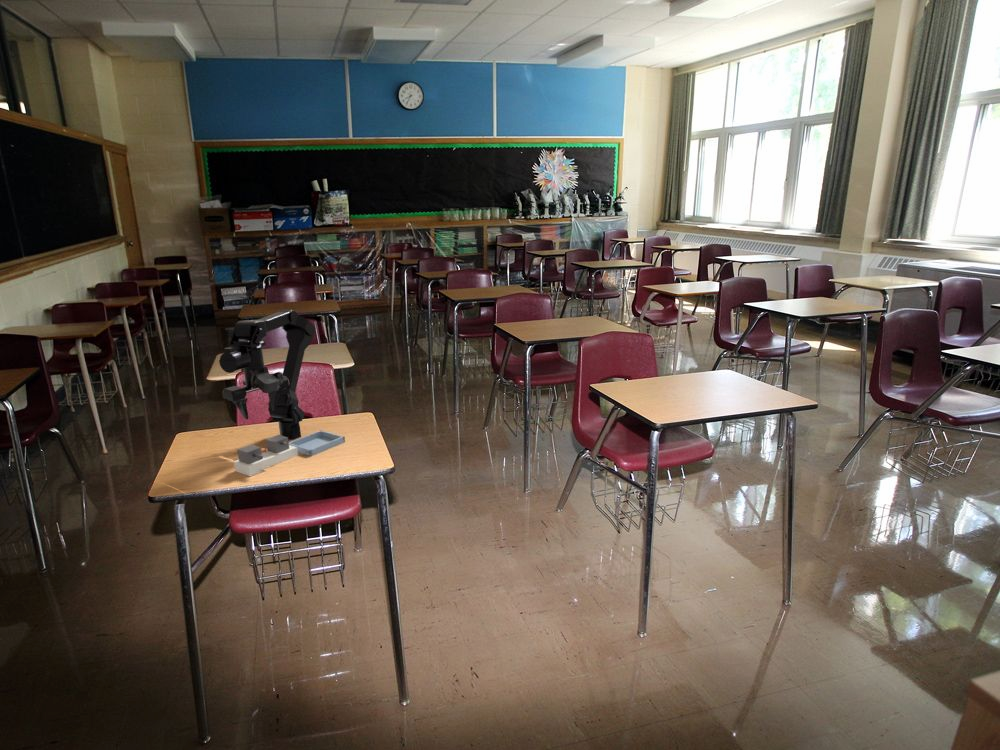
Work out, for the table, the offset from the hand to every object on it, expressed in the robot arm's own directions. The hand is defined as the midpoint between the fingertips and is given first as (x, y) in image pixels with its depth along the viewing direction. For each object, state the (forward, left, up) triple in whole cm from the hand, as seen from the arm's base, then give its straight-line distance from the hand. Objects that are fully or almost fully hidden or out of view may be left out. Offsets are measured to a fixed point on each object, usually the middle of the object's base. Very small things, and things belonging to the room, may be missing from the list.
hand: (260, 414), depth 185 cm
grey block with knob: (+8, -1, -12) cm, 14 cm away
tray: (+10, +11, -12) cm, 19 cm away
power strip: (+9, -5, -12) cm, 16 cm away
